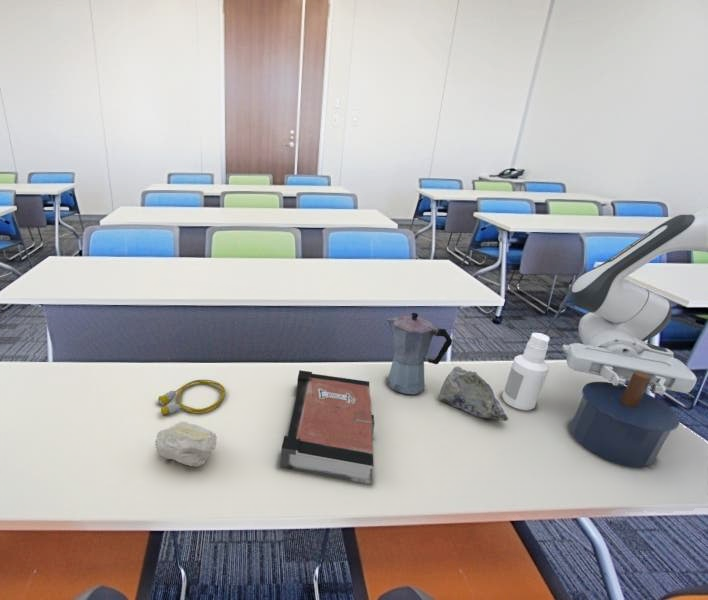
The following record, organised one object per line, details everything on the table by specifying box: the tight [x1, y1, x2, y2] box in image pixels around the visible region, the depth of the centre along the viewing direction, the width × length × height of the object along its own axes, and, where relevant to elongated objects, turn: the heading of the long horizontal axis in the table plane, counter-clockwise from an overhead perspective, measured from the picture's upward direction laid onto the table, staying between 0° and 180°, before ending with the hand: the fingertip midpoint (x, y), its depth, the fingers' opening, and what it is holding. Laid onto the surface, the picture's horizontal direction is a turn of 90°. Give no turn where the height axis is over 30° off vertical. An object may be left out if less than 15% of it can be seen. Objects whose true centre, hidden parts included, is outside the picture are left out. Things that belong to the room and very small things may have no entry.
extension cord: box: [157, 379, 226, 416], centre depth 95 cm, size 12×16×2 cm
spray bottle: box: [501, 332, 551, 411], centre depth 92 cm, size 7×7×18 cm
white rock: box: [154, 421, 217, 467], centre depth 77 cm, size 12×8×10 cm
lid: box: [581, 371, 680, 432], centre depth 78 cm, size 15×15×8 cm
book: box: [280, 369, 375, 485], centre depth 85 cm, size 26×18×5 cm
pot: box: [569, 396, 672, 468], centre depth 82 cm, size 14×14×10 cm
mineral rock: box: [438, 365, 509, 422], centre depth 90 cm, size 13×11×10 cm
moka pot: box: [386, 312, 453, 395], centre depth 97 cm, size 10×15×20 cm, turn 55°
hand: (639, 387), depth 77 cm, fingers open, 5 cm apart
